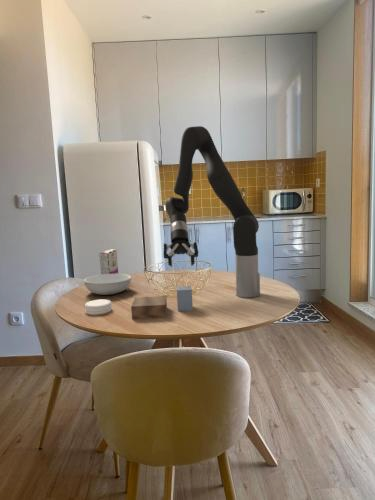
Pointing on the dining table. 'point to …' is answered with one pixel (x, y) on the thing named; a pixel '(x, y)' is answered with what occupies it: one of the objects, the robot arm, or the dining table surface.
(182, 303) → the slate-blue block
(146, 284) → the dining table surface
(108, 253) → the candy bar box
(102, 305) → the white round disc
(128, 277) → the serving bowl
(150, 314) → the walnut block
